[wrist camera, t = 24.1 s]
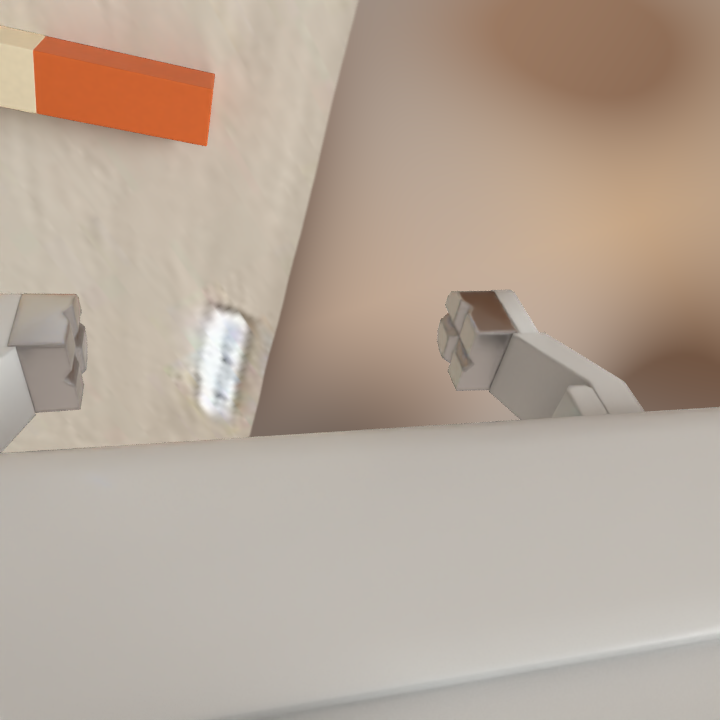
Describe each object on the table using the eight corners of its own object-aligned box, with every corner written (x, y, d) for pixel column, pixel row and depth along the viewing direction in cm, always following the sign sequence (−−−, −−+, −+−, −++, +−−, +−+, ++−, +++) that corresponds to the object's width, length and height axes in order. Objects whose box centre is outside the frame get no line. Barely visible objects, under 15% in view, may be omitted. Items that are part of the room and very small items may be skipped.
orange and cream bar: (215, 73, 45) (212, 89, 42) (209, 128, 47) (206, 147, 45) (-128, -4, 39) (-156, 9, 37) (-115, 63, 42) (-140, 80, 39)
